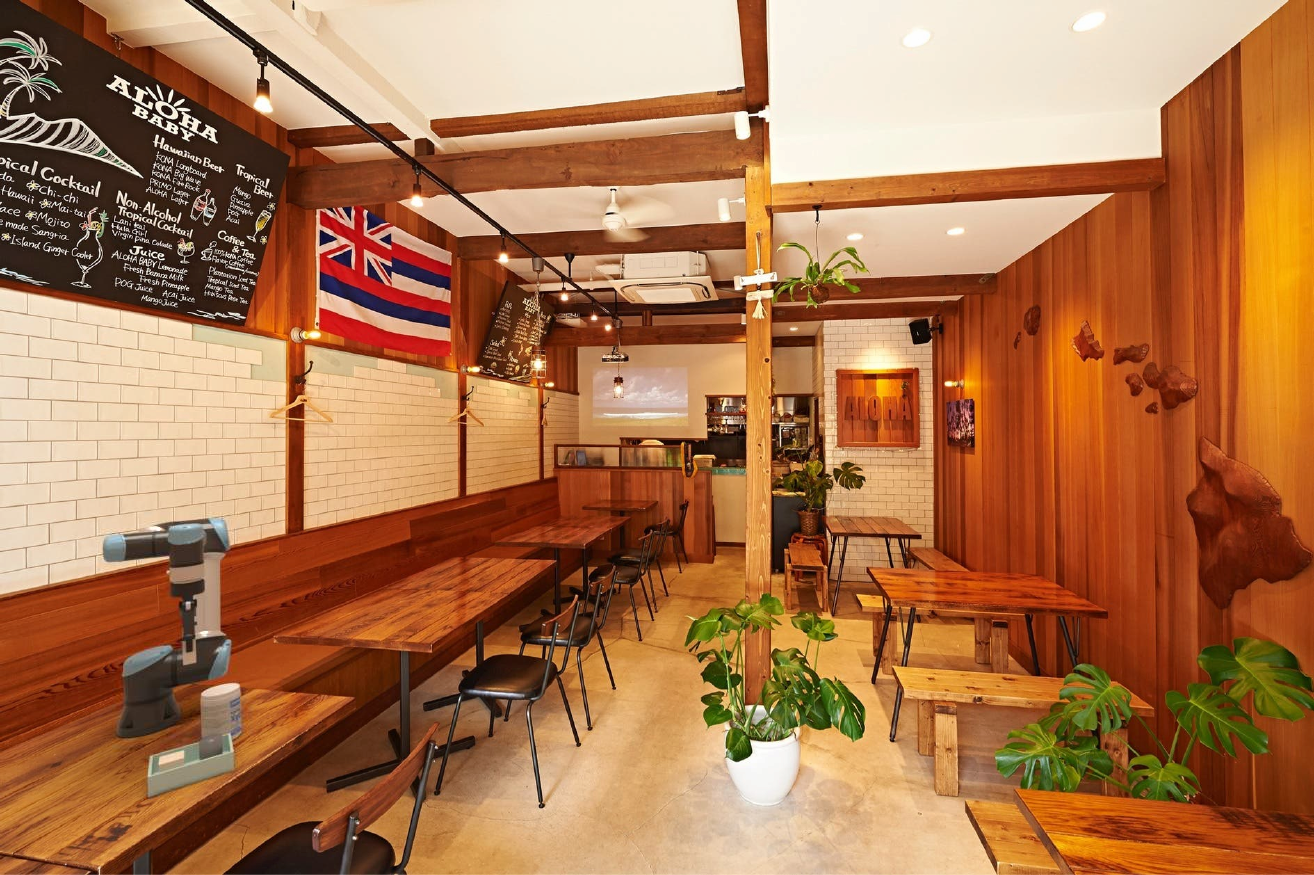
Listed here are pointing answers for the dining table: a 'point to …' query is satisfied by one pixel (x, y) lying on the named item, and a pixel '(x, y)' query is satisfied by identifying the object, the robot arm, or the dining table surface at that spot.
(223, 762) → the teal tote
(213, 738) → the charcoal cylinder
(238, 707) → the supplement tub
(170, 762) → the tan cube
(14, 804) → the dining table surface
